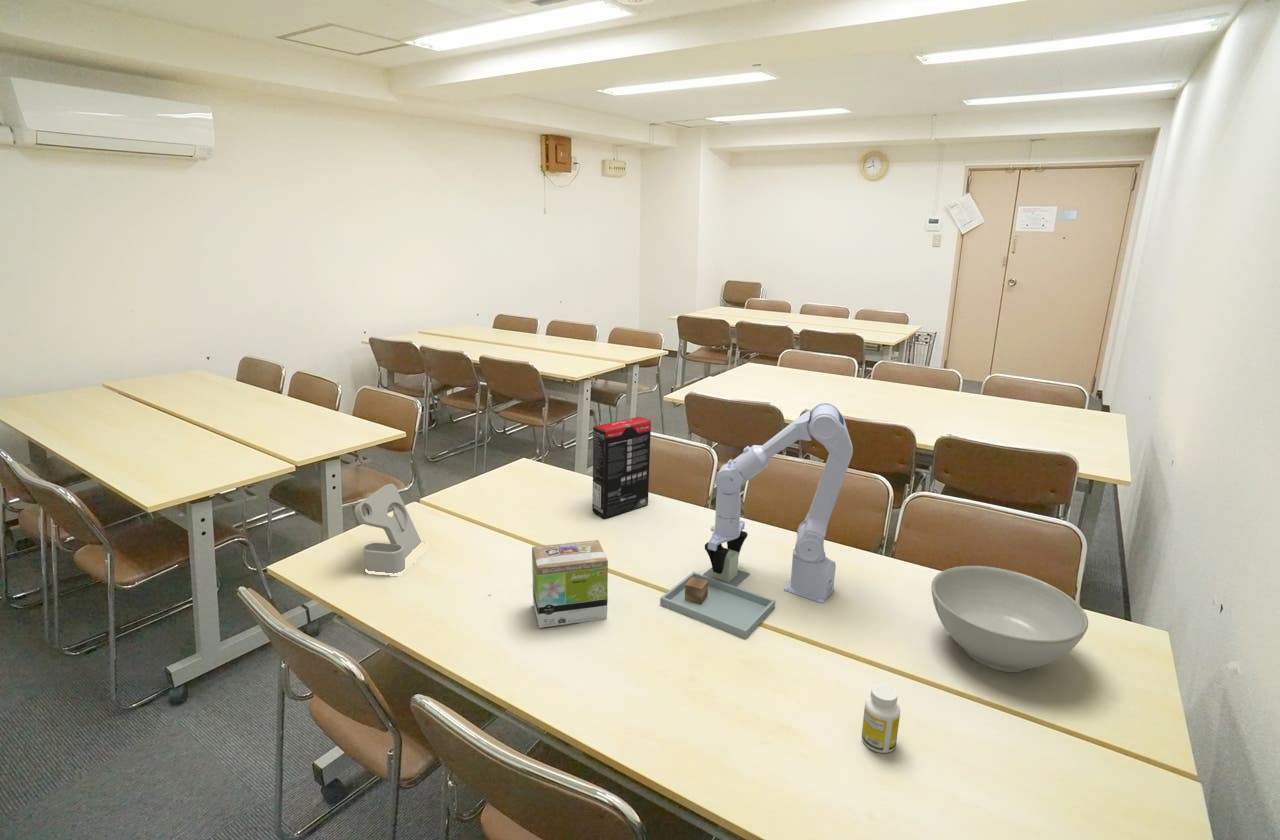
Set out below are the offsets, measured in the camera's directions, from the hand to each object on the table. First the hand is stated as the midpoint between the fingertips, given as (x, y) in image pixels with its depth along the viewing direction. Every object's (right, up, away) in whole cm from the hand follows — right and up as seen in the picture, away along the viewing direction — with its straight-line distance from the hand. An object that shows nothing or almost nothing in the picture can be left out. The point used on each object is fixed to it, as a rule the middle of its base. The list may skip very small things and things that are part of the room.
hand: (725, 565), depth 157 cm
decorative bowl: (+51, -12, -27) cm, 58 cm away
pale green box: (0, -2, +1) cm, 3 cm away
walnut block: (-8, -5, -9) cm, 13 cm away
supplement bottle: (+19, -18, -49) cm, 56 cm away
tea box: (-36, -7, -14) cm, 39 cm away
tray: (-3, -7, -12) cm, 14 cm away
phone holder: (-82, 0, +8) cm, 82 cm away
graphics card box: (-26, +8, +38) cm, 47 cm away
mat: (0, -3, +1) cm, 3 cm away
